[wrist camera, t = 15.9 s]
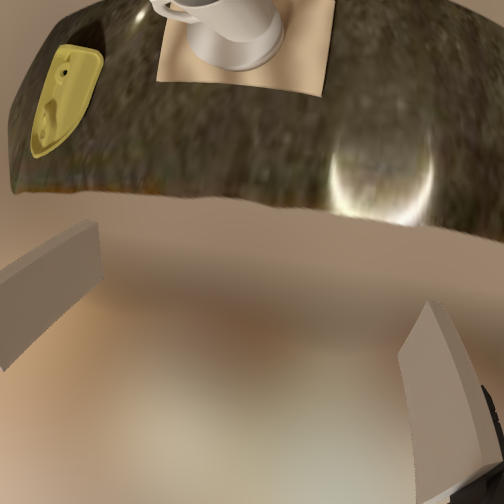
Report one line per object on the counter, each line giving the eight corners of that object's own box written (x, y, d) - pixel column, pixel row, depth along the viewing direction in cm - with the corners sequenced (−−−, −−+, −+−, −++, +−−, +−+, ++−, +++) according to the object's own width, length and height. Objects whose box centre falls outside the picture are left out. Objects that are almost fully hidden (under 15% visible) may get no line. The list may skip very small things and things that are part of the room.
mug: (272, -6, 22) (247, -59, 11) (275, 42, 25) (250, 0, 14) (189, 7, 24) (134, -29, 13) (189, 52, 27) (129, 28, 16)
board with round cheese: (334, 4, 25) (336, -13, 20) (321, 96, 31) (321, 91, 26) (177, -1, 28) (159, -13, 23) (161, 81, 34) (140, 78, 29)
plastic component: (58, 45, 31) (69, 43, 27) (91, 52, 37) (108, 52, 33) (28, 145, 39) (35, 161, 35) (60, 146, 45) (72, 162, 41)
